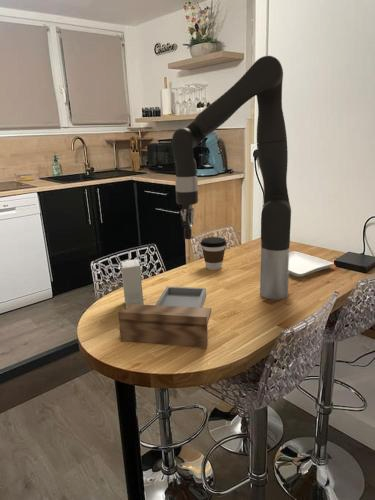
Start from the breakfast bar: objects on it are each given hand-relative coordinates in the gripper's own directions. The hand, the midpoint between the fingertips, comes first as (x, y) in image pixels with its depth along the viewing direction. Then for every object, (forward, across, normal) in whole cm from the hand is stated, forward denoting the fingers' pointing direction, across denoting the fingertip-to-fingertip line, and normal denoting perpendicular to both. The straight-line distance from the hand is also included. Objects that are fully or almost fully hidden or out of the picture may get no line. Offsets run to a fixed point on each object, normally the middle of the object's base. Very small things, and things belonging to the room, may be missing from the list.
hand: (188, 238), depth 135 cm
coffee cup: (+19, +24, -6) cm, 31 cm away
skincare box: (+19, -16, +16) cm, 30 cm away
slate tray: (+19, -16, 0) cm, 24 cm away
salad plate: (+19, +26, -40) cm, 52 cm away
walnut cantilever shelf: (+19, -34, 0) cm, 39 cm away
